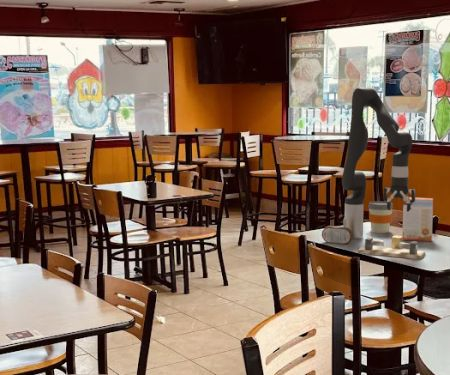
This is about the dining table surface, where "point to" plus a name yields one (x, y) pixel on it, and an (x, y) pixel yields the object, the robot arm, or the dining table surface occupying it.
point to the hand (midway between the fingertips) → (398, 210)
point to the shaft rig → (391, 249)
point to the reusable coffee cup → (380, 216)
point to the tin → (337, 235)
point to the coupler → (396, 241)
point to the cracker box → (418, 220)
